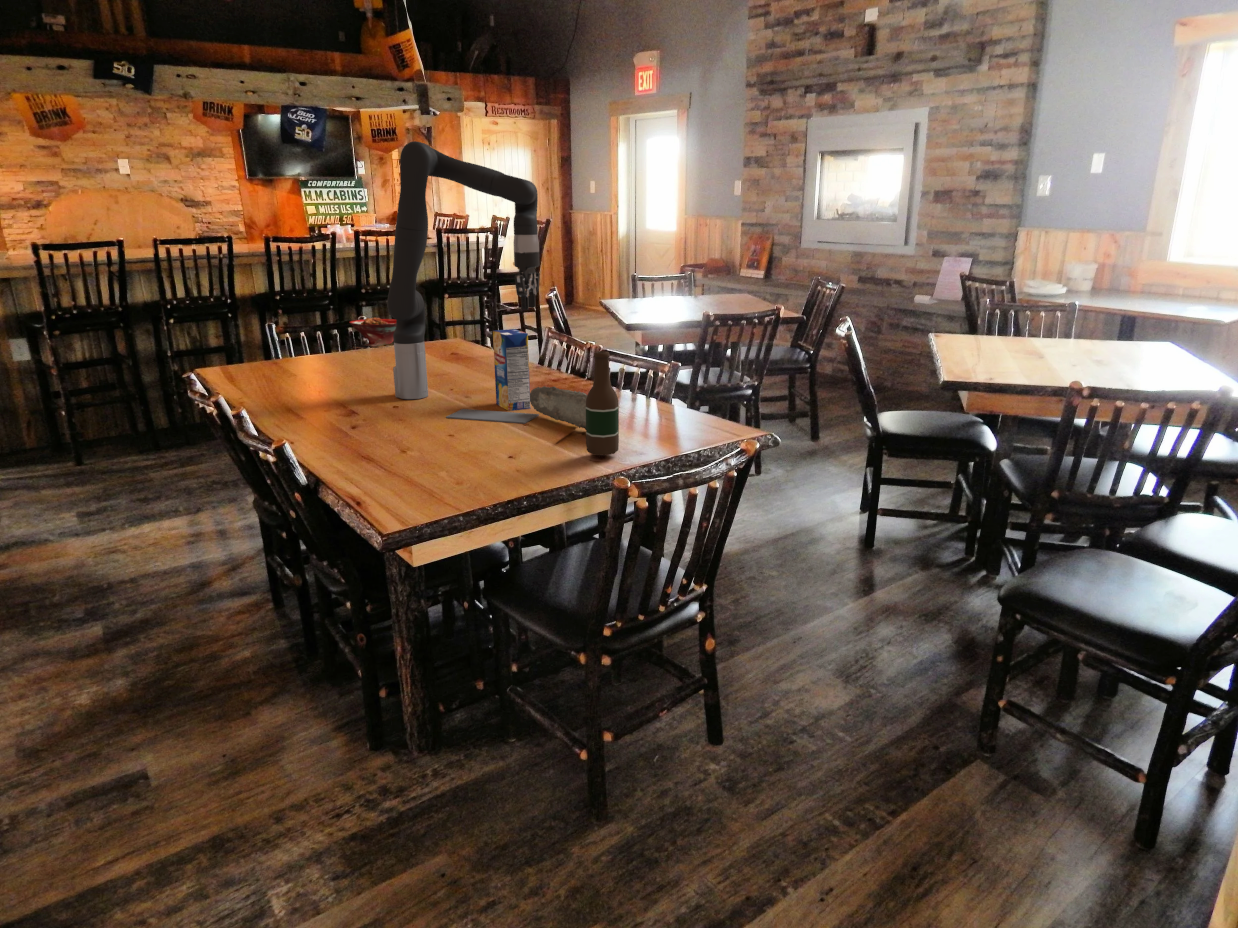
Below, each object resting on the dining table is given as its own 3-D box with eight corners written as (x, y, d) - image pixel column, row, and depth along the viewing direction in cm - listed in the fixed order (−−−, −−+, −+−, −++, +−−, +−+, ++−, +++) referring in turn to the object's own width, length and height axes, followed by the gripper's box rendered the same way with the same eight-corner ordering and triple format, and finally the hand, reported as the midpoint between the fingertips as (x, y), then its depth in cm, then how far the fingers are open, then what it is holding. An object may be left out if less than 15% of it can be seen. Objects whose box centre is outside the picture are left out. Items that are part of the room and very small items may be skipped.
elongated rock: (524, 416, 234) (523, 381, 231) (539, 413, 237) (538, 379, 234) (605, 439, 208) (604, 401, 206) (620, 436, 212) (620, 398, 209)
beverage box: (508, 411, 239) (505, 335, 233) (496, 403, 248) (492, 330, 242) (530, 408, 242) (527, 333, 236) (517, 401, 251) (514, 329, 245)
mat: (445, 418, 231) (445, 416, 231) (462, 410, 240) (462, 408, 240) (524, 423, 224) (524, 422, 224) (538, 415, 234) (538, 414, 233)
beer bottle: (585, 447, 201) (584, 349, 194) (617, 446, 202) (617, 348, 195) (587, 456, 194) (585, 354, 187) (620, 455, 195) (619, 354, 188)
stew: (425, 346, 360) (422, 309, 356) (401, 355, 338) (398, 315, 333) (365, 344, 365) (362, 308, 360) (338, 353, 342) (334, 314, 338)
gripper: (524, 249, 253) (526, 306, 258) (504, 251, 240) (507, 310, 245) (547, 249, 251) (548, 306, 256) (528, 251, 238) (530, 311, 243)
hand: (528, 308), depth 250 cm, fingers open, 4 cm apart
